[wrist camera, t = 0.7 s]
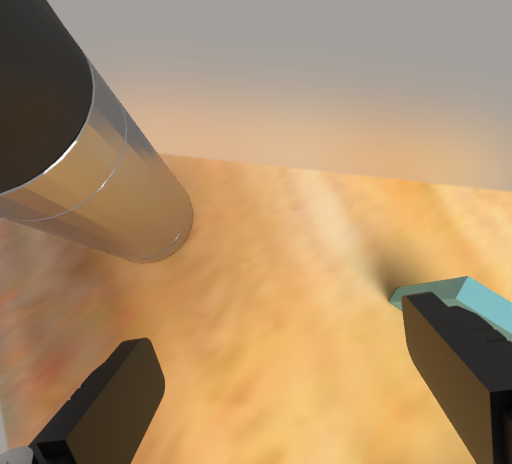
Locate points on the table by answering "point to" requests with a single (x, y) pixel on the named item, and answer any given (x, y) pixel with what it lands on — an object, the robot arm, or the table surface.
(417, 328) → the robot arm
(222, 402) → the table surface
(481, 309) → the domino
